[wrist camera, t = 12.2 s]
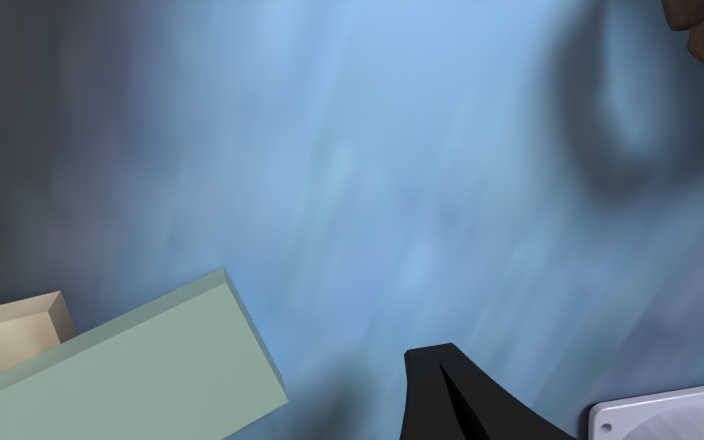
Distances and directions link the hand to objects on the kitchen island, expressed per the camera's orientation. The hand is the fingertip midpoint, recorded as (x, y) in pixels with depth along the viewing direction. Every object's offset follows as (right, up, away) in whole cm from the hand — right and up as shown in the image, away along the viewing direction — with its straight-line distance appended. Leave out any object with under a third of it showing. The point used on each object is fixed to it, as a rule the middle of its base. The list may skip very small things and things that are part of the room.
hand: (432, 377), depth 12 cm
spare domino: (-5, 0, +3) cm, 6 cm away
